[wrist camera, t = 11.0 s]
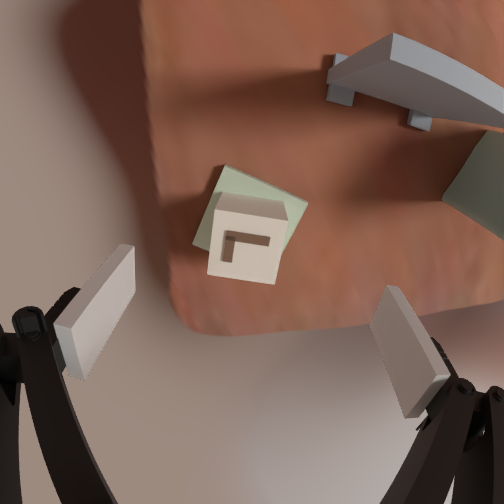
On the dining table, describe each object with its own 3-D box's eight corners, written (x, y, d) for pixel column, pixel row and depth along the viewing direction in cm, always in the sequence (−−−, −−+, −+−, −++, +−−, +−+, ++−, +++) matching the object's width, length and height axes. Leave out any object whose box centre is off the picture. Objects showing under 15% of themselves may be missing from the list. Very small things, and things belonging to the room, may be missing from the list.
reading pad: (225, 164, 30) (224, 165, 30) (306, 200, 32) (308, 203, 31) (193, 240, 34) (192, 244, 33) (269, 271, 35) (269, 276, 34)
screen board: (323, 99, 27) (385, 89, 13) (331, 53, 25) (396, 6, 11) (427, 131, 28) (531, 158, 14) (434, 89, 26) (541, 92, 11)
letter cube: (222, 191, 31) (214, 210, 25) (283, 201, 31) (288, 222, 25) (215, 246, 33) (206, 275, 28) (272, 255, 33) (274, 285, 28)
